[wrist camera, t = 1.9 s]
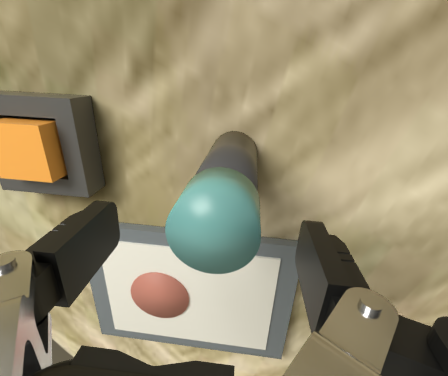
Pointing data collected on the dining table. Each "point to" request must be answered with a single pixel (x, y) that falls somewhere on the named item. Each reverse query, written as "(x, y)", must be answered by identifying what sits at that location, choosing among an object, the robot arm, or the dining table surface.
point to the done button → (30, 150)
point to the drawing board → (196, 296)
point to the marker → (219, 209)
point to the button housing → (69, 138)
